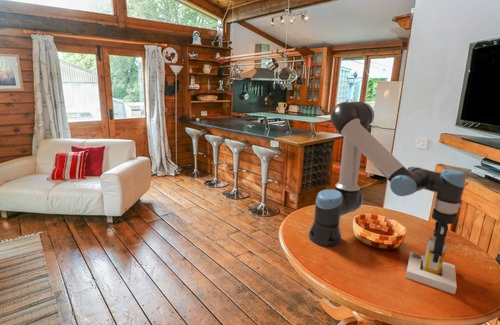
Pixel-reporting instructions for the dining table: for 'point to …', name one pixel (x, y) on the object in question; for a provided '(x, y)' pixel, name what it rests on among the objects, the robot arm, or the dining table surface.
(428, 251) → the beer can
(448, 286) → the socket plate
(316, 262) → the dining table surface
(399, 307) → the dining table surface
